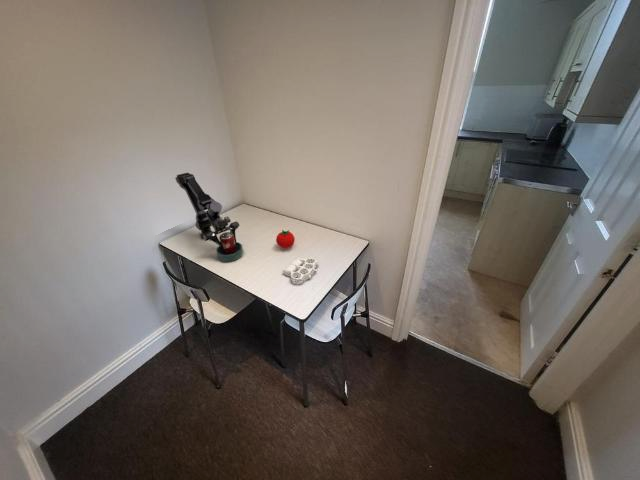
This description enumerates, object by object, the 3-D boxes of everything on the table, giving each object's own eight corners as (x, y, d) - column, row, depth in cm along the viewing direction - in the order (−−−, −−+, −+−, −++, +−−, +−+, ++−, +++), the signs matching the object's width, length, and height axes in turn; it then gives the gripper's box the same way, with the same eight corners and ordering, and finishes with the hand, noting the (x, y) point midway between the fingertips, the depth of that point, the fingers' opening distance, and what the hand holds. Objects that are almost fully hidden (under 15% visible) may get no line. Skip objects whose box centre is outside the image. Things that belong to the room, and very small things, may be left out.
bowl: (213, 254, 140) (211, 248, 137) (235, 245, 147) (234, 238, 145) (225, 265, 132) (223, 258, 129) (247, 255, 139) (246, 248, 137)
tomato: (273, 246, 146) (271, 231, 141) (286, 239, 152) (285, 225, 147) (285, 254, 140) (283, 238, 135) (298, 246, 146) (298, 231, 141)
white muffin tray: (299, 258, 137) (323, 266, 131) (279, 278, 123) (304, 288, 117) (299, 253, 135) (323, 261, 129) (278, 272, 122) (304, 282, 116)
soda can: (229, 259, 135) (224, 240, 128) (220, 254, 139) (216, 235, 132) (240, 253, 140) (236, 234, 133) (232, 248, 144) (227, 230, 137)
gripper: (199, 219, 123) (215, 247, 123) (234, 207, 134) (249, 233, 134) (197, 227, 132) (211, 253, 132) (230, 216, 143) (243, 240, 143)
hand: (229, 244), depth 135 cm, fingers closed on soda can, 7 cm apart
